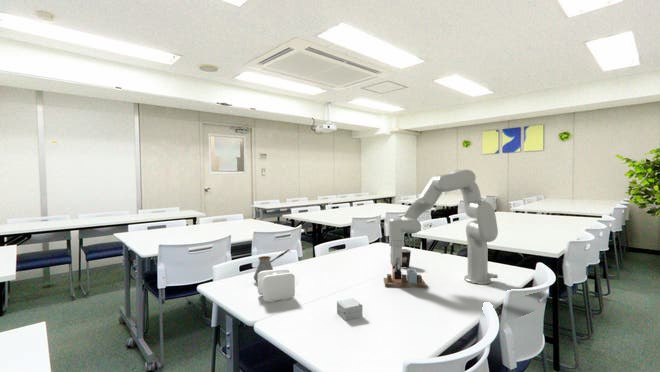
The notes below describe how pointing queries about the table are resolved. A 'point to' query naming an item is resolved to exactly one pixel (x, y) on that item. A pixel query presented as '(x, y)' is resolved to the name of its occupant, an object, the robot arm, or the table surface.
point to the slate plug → (411, 276)
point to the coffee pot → (265, 264)
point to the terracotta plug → (394, 277)
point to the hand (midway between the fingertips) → (396, 276)
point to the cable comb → (404, 282)
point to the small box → (349, 309)
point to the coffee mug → (405, 257)
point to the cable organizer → (276, 284)
